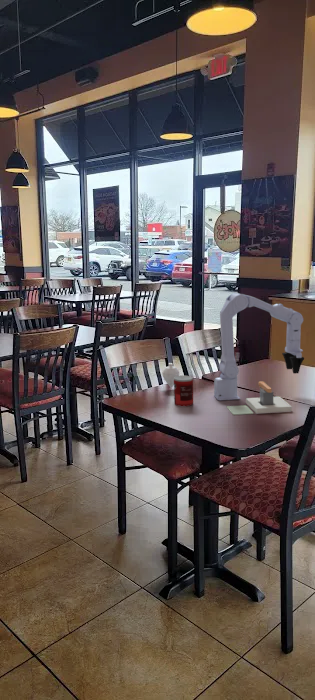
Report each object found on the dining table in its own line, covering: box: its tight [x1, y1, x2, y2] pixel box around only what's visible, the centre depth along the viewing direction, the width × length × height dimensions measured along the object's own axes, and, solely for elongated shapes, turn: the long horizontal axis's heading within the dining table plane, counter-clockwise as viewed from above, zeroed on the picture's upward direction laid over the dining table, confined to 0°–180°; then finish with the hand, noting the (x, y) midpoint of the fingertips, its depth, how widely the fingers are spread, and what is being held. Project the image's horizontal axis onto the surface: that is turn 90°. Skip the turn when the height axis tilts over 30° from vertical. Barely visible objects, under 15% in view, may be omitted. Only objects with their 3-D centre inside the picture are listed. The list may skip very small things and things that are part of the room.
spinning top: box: [162, 362, 180, 390], centre depth 232 cm, size 8×8×12 cm
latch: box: [258, 380, 273, 393], centre depth 203 cm, size 11×2×2 cm, turn 7°
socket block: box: [245, 386, 293, 415], centre depth 203 cm, size 14×14×7 cm
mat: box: [226, 405, 255, 416], centre depth 200 cm, size 8×10×1 cm
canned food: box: [173, 375, 194, 407], centre depth 210 cm, size 8×8×11 cm
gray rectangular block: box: [259, 389, 274, 406], centre depth 202 cm, size 4×4×7 cm
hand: (292, 371), depth 219 cm, fingers open, 7 cm apart
